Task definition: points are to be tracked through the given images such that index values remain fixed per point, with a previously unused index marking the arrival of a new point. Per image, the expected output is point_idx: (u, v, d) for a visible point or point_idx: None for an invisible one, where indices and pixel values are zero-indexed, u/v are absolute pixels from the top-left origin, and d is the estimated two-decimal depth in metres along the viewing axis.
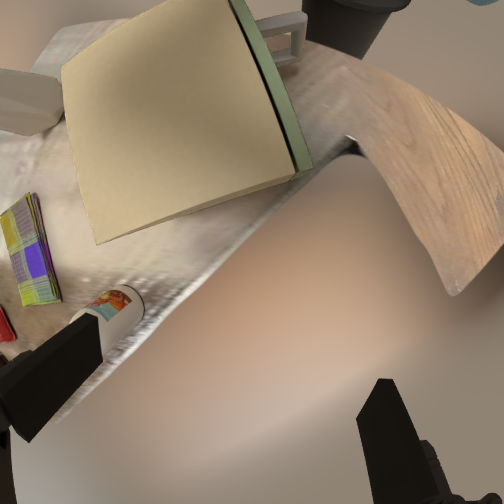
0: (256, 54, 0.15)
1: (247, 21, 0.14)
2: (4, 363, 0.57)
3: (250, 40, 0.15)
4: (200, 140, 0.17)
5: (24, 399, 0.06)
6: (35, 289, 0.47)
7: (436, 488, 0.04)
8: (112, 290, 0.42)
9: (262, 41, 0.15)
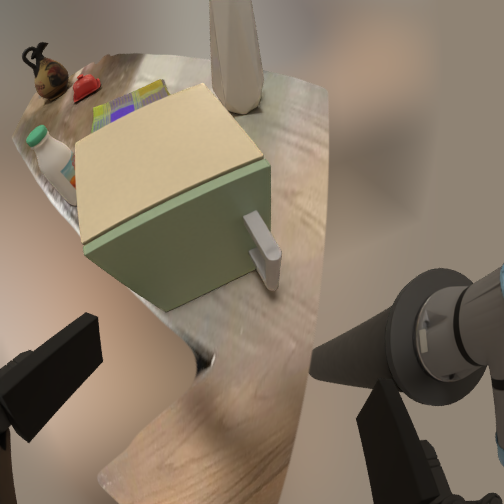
0: (169, 200, 0.22)
1: (207, 187, 0.22)
2: (60, 91, 0.76)
3: (184, 193, 0.22)
4: (109, 183, 0.23)
5: (24, 399, 0.06)
6: (103, 117, 0.62)
7: (436, 488, 0.04)
8: None
9: (183, 201, 0.22)
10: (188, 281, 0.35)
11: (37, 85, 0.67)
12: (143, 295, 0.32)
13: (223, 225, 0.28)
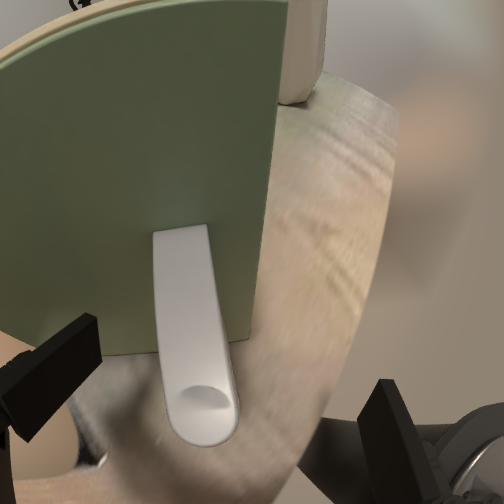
0: None
1: None
2: None
3: None
4: None
5: (23, 399, 0.06)
6: None
7: (437, 488, 0.04)
8: None
9: None
10: None
11: None
12: None
13: (89, 243, 0.07)
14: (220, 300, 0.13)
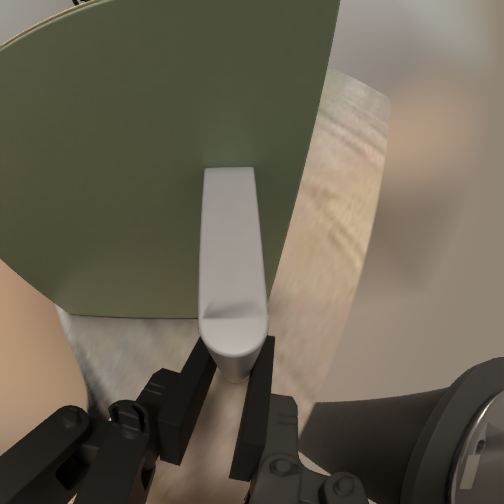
0: None
1: (98, 2, 0.04)
2: None
3: None
4: None
5: (187, 422, 0.08)
6: None
7: (264, 437, 0.07)
8: None
9: (24, 34, 0.03)
10: (89, 284, 0.16)
11: None
12: (14, 269, 0.13)
13: (142, 172, 0.08)
14: None
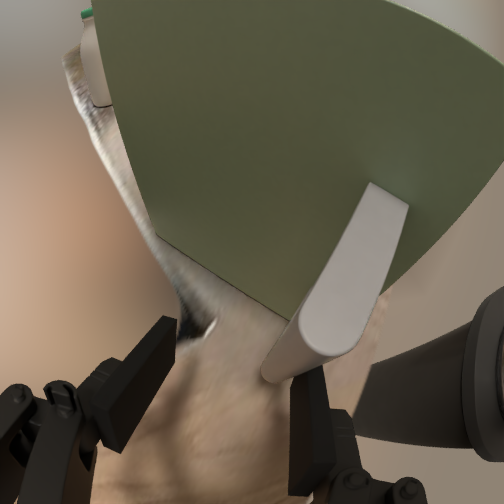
0: None
1: None
2: None
3: None
4: None
5: (123, 410, 0.07)
6: None
7: (334, 454, 0.06)
8: None
9: None
10: (195, 220, 0.18)
11: None
12: (132, 166, 0.18)
13: (314, 153, 0.09)
14: None
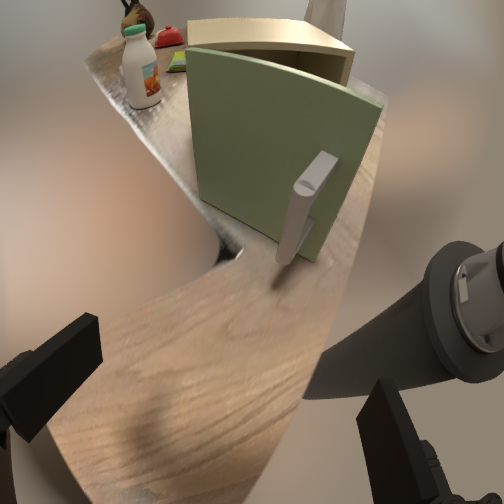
0: (274, 63, 0.18)
1: (310, 75, 0.17)
2: None
3: (289, 67, 0.17)
4: (223, 31, 0.23)
5: (24, 400, 0.06)
6: (182, 60, 0.66)
7: (436, 488, 0.04)
8: (159, 88, 0.51)
9: (280, 68, 0.17)
10: (234, 181, 0.31)
11: (124, 24, 0.75)
12: (195, 149, 0.30)
13: (299, 140, 0.22)
14: (322, 206, 0.26)
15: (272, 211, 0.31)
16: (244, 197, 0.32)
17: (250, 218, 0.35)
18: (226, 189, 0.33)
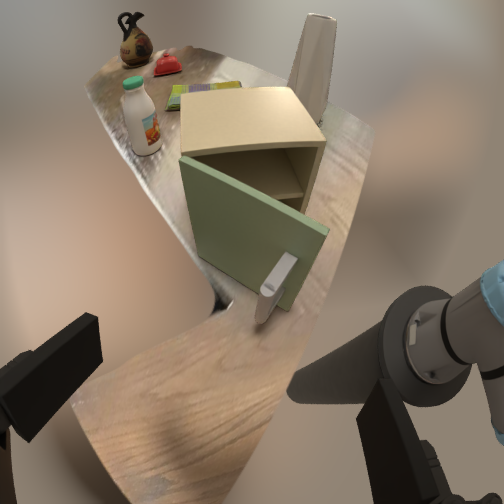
0: (249, 186, 0.27)
1: (275, 203, 0.26)
2: (141, 62, 0.94)
3: (260, 192, 0.27)
4: (211, 124, 0.33)
5: (24, 399, 0.06)
6: (180, 95, 0.75)
7: (436, 488, 0.04)
8: (159, 136, 0.60)
9: (253, 194, 0.27)
10: (225, 253, 0.40)
11: (123, 49, 0.85)
12: (193, 226, 0.40)
13: (269, 241, 0.31)
14: (289, 281, 0.35)
15: (254, 277, 0.40)
16: (233, 264, 0.42)
17: (238, 277, 0.44)
18: (219, 256, 0.42)
